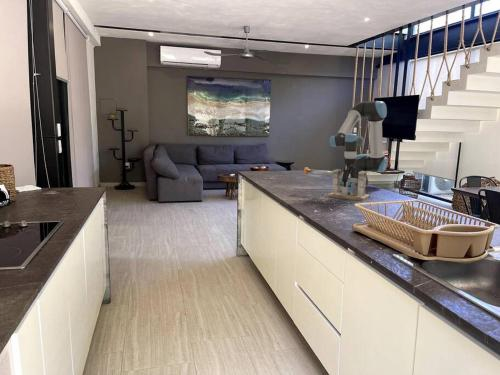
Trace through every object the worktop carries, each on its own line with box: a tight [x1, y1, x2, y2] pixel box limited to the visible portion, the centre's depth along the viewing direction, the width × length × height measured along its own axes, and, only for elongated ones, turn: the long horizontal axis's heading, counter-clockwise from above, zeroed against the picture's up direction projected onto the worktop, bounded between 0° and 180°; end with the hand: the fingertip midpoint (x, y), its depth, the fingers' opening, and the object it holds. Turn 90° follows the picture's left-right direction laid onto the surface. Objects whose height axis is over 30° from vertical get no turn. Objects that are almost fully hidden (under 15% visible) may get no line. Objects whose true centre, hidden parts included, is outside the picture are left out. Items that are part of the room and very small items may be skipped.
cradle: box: [326, 168, 371, 202], centre depth 248 cm, size 14×24×18 cm, turn 55°
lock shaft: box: [302, 166, 334, 176], centre depth 259 cm, size 5×24×5 cm, turn 55°
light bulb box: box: [339, 177, 358, 196], centre depth 249 cm, size 11×7×11 cm, turn 105°
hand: (348, 190), depth 249 cm, fingers open, 13 cm apart
